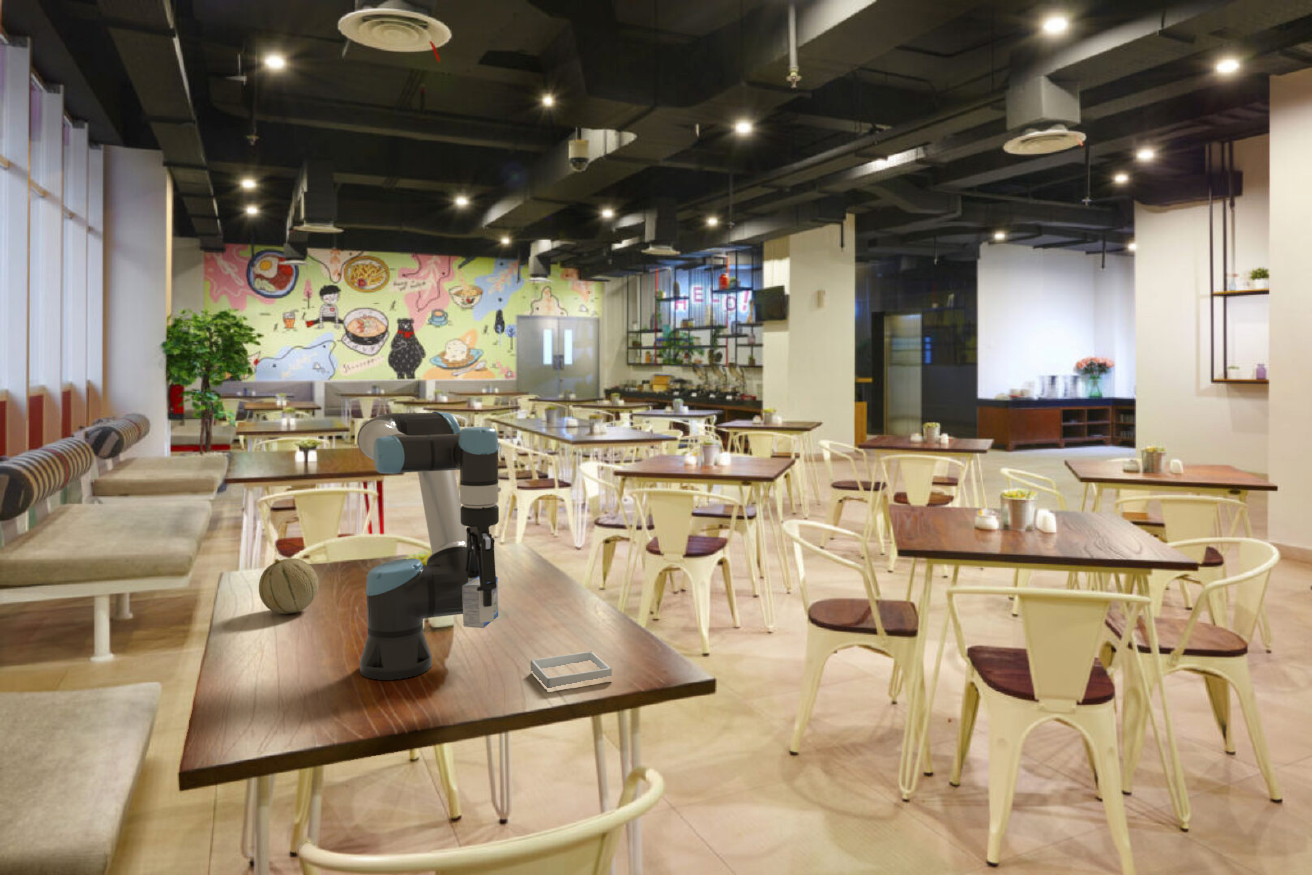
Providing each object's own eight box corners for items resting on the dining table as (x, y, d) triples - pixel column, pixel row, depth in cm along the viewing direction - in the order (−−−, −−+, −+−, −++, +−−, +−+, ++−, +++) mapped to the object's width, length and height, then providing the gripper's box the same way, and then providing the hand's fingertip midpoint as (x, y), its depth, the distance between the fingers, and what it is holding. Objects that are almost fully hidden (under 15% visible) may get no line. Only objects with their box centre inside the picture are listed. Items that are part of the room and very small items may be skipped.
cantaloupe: (331, 609, 232) (329, 555, 230) (283, 623, 219) (281, 566, 218) (295, 602, 239) (293, 549, 238) (247, 615, 227) (245, 559, 225)
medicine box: (483, 628, 169) (483, 585, 168) (462, 627, 170) (461, 584, 169) (498, 616, 177) (498, 575, 176) (478, 615, 178) (478, 574, 177)
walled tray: (547, 692, 174) (547, 678, 174) (530, 673, 185) (530, 659, 185) (611, 682, 180) (611, 668, 180) (591, 664, 191) (591, 651, 191)
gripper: (512, 512, 163) (513, 627, 165) (485, 495, 183) (486, 599, 185) (472, 515, 160) (474, 632, 162) (449, 497, 179) (451, 603, 182)
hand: (480, 614), depth 173 cm, fingers closed on medicine box, 9 cm apart
